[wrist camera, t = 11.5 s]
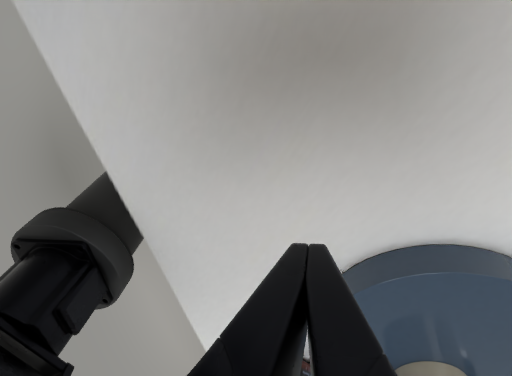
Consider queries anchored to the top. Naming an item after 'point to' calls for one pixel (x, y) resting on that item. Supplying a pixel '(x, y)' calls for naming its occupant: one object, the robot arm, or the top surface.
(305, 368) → the supplement bottle
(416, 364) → the teacup
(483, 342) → the plate
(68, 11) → the top surface
